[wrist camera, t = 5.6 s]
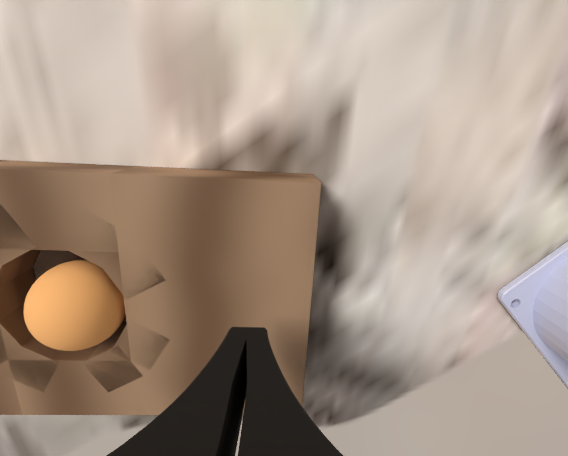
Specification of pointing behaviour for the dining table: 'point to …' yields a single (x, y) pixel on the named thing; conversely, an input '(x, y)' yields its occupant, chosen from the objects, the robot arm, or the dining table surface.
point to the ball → (73, 306)
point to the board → (154, 277)
